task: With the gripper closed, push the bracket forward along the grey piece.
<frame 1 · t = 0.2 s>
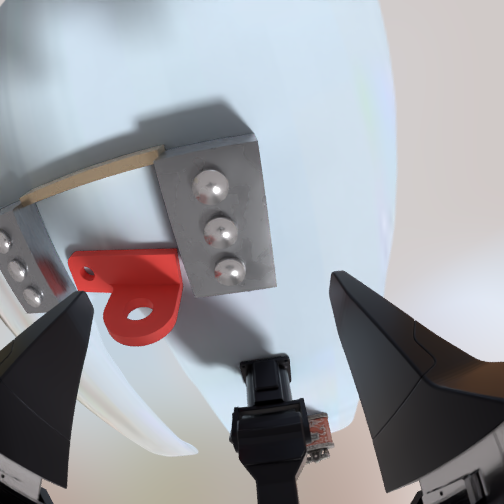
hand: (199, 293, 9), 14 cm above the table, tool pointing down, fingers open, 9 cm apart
bracket: (124, 267, 26), on the table
grey piece: (108, 232, 24), on the table
lighter: (307, 418, 47), on the table
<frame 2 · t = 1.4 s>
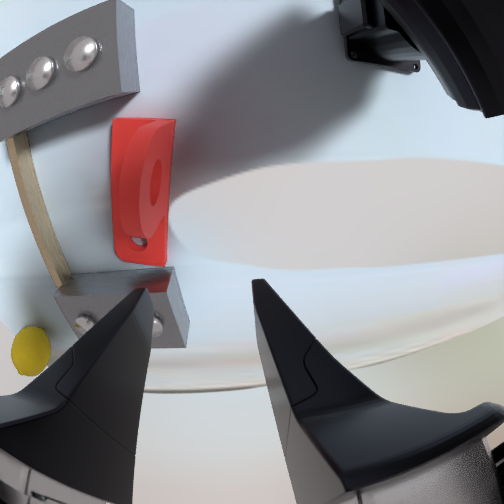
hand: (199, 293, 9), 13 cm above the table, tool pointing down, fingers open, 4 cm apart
lemon: (43, 327, 29), on the table
bracket: (142, 192, 21), on the table
grey piece: (90, 197, 20), on the table
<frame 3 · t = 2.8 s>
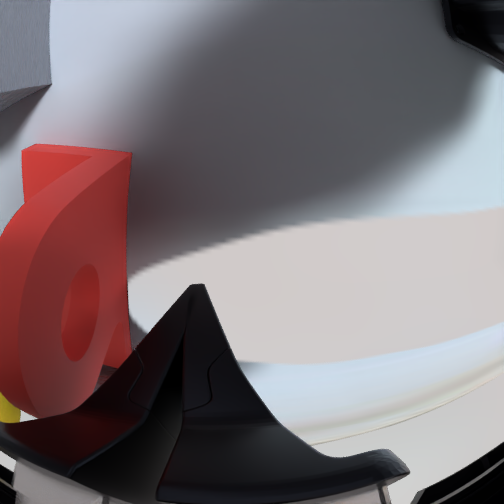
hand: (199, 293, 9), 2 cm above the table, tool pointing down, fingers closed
lemon: (9, 382, 20), on the table
bracket: (86, 270, 12), on the table, touching gripper
grey piece: (12, 263, 11), on the table
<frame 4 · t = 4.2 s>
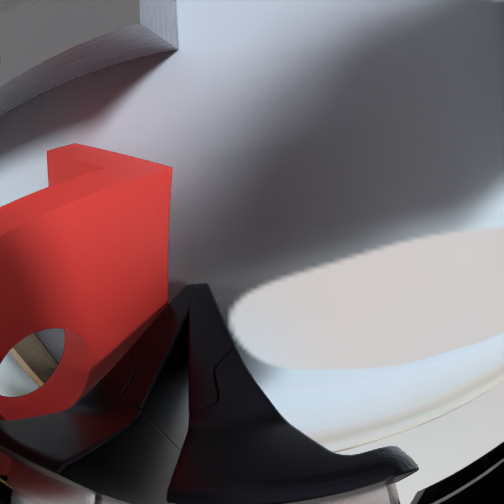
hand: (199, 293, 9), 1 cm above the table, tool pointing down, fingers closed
bracket: (127, 308, 10), point 1 cm above the table, touching gripper
grey piece: (73, 277, 10), on the table
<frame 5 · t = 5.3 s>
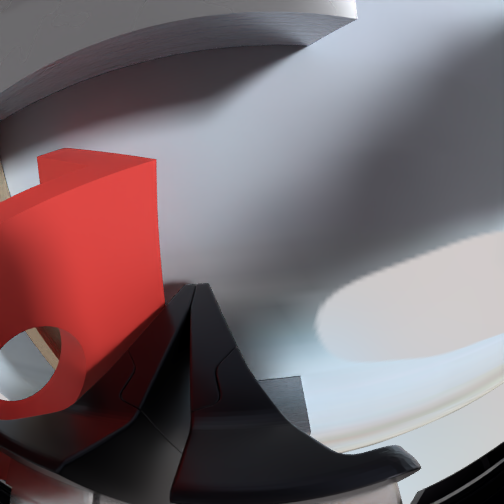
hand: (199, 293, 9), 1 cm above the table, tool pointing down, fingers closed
bracket: (128, 309, 10), point 1 cm above the table, touching gripper
grey piece: (150, 278, 10), on the table
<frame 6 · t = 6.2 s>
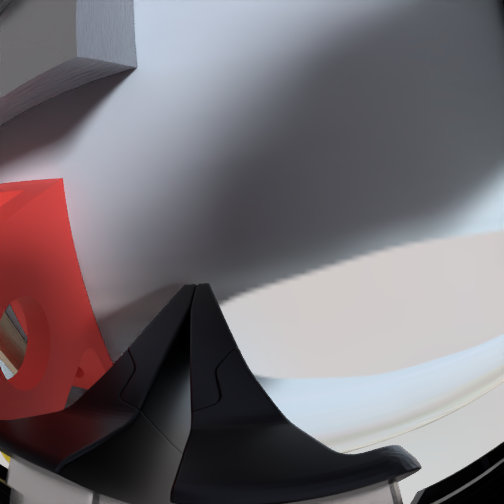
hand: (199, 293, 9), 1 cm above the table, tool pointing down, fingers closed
bracket: (56, 299, 11), on the table
grey piece: (55, 289, 10), on the table
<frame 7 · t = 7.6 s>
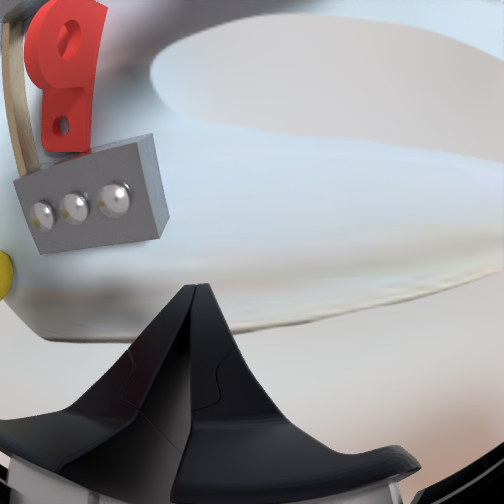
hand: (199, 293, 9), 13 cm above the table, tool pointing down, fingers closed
lemon: (9, 255, 23), on the table
bracket: (73, 78, 15), on the table
grey piece: (72, 65, 14), on the table
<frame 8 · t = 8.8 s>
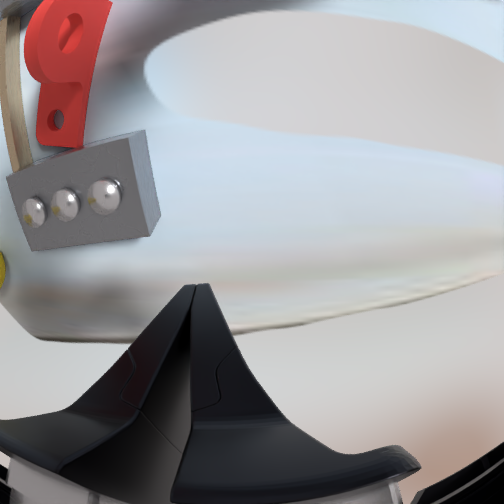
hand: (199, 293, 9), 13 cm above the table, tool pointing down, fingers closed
lemon: (1, 253, 22), on the table
bracket: (72, 72, 15), on the table
grey piece: (67, 61, 14), on the table
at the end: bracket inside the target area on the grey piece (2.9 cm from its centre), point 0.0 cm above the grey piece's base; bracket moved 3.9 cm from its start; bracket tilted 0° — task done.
